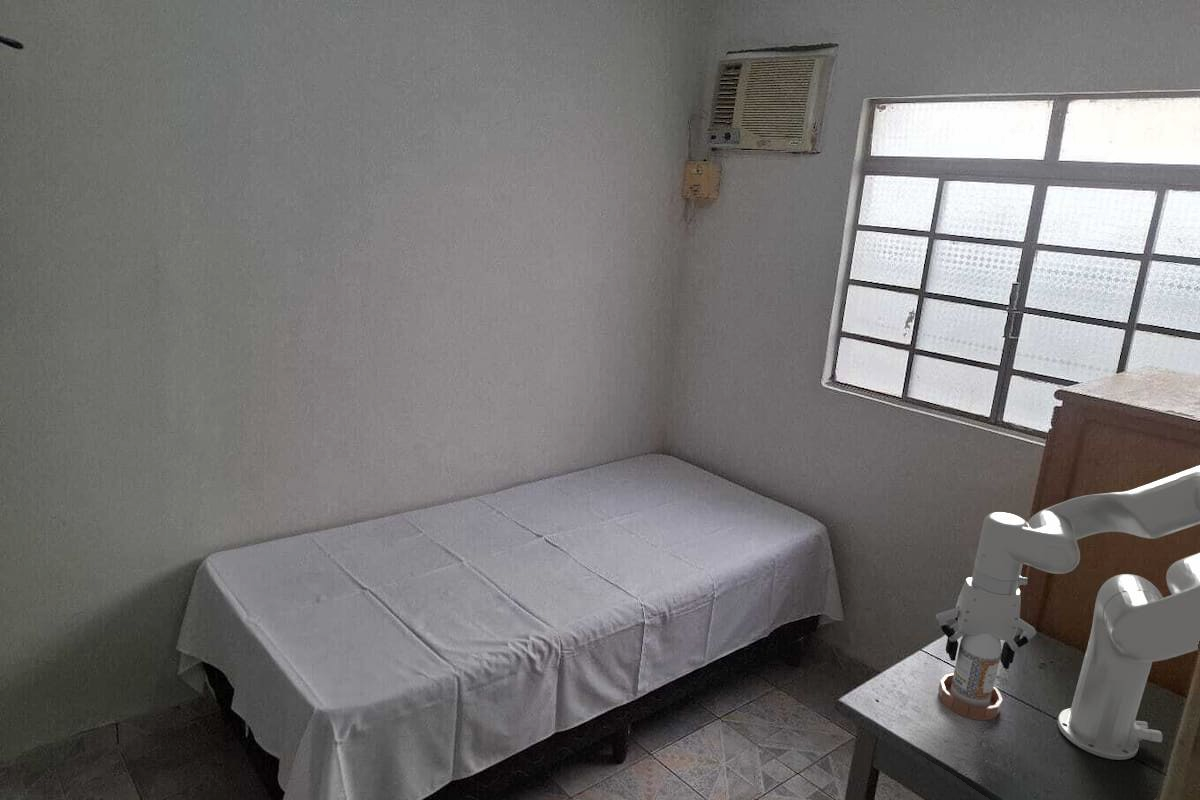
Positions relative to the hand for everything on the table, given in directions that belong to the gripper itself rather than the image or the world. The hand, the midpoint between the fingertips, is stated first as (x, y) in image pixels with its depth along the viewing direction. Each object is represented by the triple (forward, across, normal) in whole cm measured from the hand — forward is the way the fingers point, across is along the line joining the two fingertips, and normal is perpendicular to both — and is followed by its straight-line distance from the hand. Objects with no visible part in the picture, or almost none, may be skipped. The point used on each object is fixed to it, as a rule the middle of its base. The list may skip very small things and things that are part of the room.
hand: (977, 660), depth 149 cm
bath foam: (+9, 0, 0) cm, 9 cm away
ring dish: (+9, 0, 0) cm, 9 cm away
